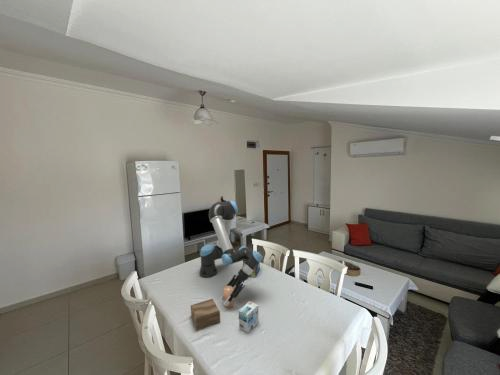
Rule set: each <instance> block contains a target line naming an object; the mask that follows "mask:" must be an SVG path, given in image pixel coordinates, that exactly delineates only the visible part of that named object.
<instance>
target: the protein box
mask: <svg viewBox="0 0 500 375" xmlns="http://www.w3.org/2000/svg"><path fill="white" fill-rule="evenodd" d="M257 252H258V253H260V251H257ZM245 263H246V260H243V261H242V266H243V265H244V264H245ZM260 264H261V262H260V263H259V264H258V265H257V267H256V268H255V269H254V271H253V272H252V273H251V275H249V278H254V279H255V278H256V277H257V275H258V273H259V271H260V269H261V268H260V267H261V265H260Z"/></svg>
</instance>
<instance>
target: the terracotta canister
mask: <svg viewBox="0 0 500 375" xmlns="http://www.w3.org/2000/svg"><path fill="white" fill-rule="evenodd" d="M233 290H234V287H232V286H227V285H226V286H224V287H223V294H224V300H223V303H224V302H225V301H226V300H227V298H228V297H229V296H230V295H231V294H232V292H233ZM223 306H224V308H225V309H231V308H233V307H234V298H233V299H232V301H231V302H230V303H229V304H228V305H227V306H225V305H224V304H223Z"/></svg>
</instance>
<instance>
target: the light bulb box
mask: <svg viewBox="0 0 500 375" xmlns="http://www.w3.org/2000/svg"><path fill="white" fill-rule="evenodd" d="M259 315H260V314H259V304H256V303H254V302H252V301H247V303H246V304H245V305H244V306H243V305H242V307H241V308H240V309H239V310H238V326H239V327H238V328H239V329H241V330H242V331H244V332H246V333H248V334H249V333H250V332H251V331H252V330H253V329H254V328H255V326H257V324H259V323H260V322H259V321H260V320H259V319H260V318H259V317H260V316H259Z"/></svg>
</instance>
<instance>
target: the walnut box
mask: <svg viewBox="0 0 500 375" xmlns="http://www.w3.org/2000/svg"><path fill="white" fill-rule="evenodd" d="M190 315H191V319H192V321H193V325H194V328H195V330H196V331H200V330H202V329H205V328H208V327H211V326H214V325H216V324H219V323H221V312H220V309H219V308H218V306H217V304H216V302H215V300H214V298H211V299H207V300H203V301H201V302H198V303H194V304H191V305H190Z"/></svg>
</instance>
